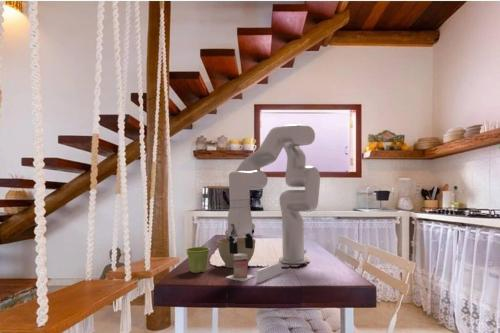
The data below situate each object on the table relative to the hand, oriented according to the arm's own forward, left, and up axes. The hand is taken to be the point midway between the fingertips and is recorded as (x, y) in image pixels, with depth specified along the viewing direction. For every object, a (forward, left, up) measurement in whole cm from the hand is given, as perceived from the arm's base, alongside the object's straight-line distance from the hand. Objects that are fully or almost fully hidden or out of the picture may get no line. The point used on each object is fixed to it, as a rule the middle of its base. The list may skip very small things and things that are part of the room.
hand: (241, 250), depth 121 cm
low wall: (-5, +9, -10) cm, 14 cm away
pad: (+1, 0, -10) cm, 10 cm away
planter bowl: (-13, -12, -10) cm, 20 cm away
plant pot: (+2, -20, -10) cm, 22 cm away
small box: (+1, 0, -9) cm, 9 cm away
